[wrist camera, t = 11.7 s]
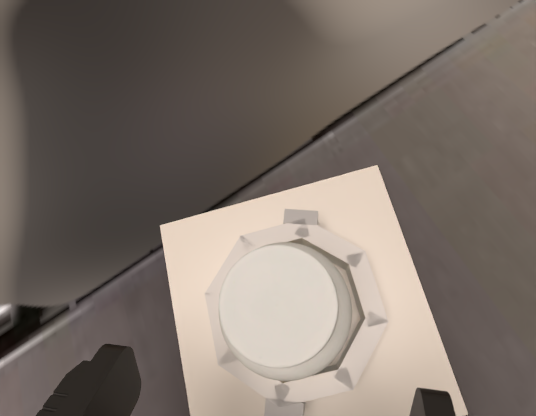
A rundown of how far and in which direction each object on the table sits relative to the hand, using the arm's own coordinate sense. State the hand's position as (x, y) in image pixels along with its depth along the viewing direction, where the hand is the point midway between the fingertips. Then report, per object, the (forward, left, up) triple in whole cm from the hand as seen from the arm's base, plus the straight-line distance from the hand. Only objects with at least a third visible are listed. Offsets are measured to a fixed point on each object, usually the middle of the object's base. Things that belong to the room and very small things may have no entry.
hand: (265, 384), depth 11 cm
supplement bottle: (-1, -2, -11) cm, 11 cm away
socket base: (-1, -2, -12) cm, 12 cm away
